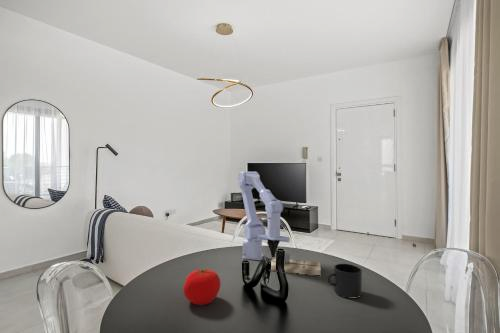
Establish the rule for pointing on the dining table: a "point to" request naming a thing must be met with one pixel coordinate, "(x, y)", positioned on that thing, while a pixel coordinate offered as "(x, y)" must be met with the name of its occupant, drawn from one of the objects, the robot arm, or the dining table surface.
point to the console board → (299, 267)
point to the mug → (347, 280)
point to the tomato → (201, 286)
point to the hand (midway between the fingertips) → (273, 256)
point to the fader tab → (287, 258)
